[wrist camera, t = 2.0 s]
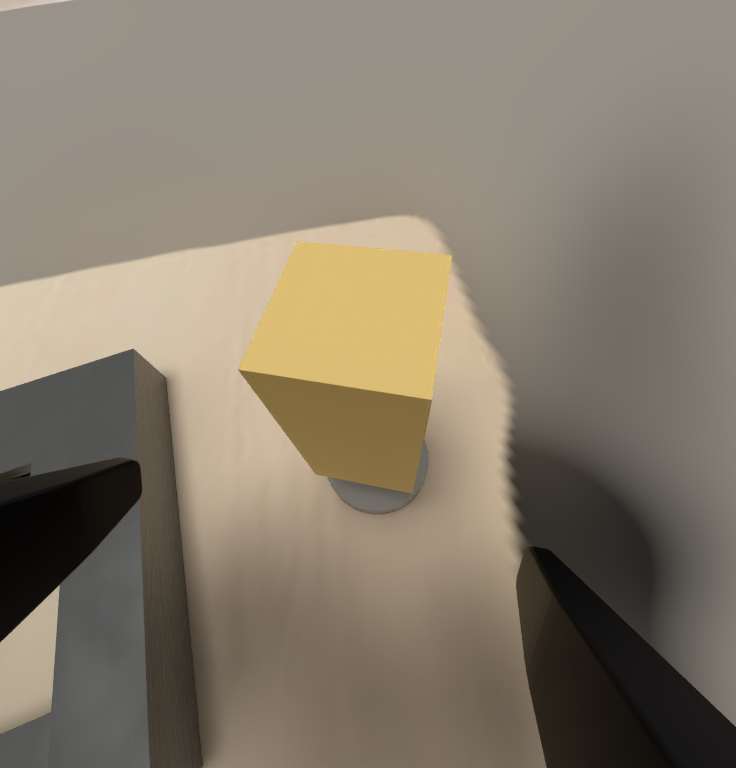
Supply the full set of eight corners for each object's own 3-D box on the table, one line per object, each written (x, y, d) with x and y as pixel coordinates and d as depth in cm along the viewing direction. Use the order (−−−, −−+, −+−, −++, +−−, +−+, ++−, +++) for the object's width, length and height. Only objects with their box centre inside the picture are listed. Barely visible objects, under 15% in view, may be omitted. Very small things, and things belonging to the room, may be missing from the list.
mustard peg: (418, 524, 18) (458, 431, 7) (316, 502, 19) (203, 388, 8) (432, 426, 21) (476, 242, 9) (341, 411, 22) (283, 226, 10)
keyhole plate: (202, 767, 14) (151, 816, 11) (-188, 954, 12) (-369, 1070, 9) (165, 377, 24) (133, 348, 21) (-57, 451, 22) (-126, 431, 19)
